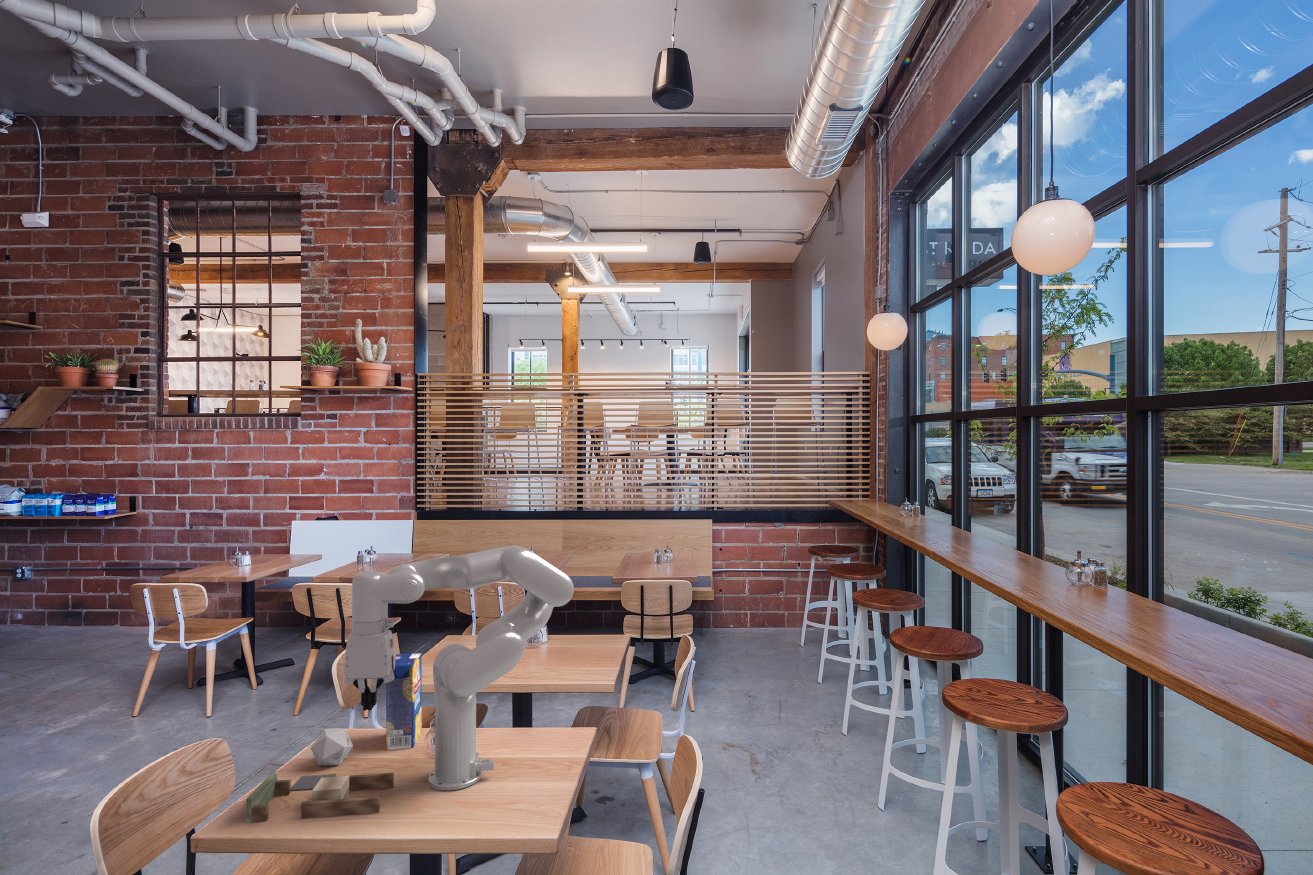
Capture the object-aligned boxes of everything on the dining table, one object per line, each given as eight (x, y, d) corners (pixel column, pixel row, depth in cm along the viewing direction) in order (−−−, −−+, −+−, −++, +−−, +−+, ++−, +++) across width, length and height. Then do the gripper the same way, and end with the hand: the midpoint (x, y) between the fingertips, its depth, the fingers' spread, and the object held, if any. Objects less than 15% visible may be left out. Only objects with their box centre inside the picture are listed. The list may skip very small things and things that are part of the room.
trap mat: (336, 774, 160) (336, 773, 160) (325, 788, 153) (325, 787, 153) (301, 777, 159) (301, 776, 159) (289, 790, 152) (289, 789, 152)
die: (324, 777, 160) (351, 738, 164) (296, 756, 162) (324, 718, 165) (339, 774, 168) (365, 737, 171) (313, 754, 170) (339, 718, 173)
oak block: (349, 795, 150) (349, 775, 151) (340, 809, 145) (340, 788, 145) (321, 797, 150) (321, 777, 150) (311, 811, 144) (311, 790, 144)
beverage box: (421, 731, 185) (421, 652, 186) (413, 748, 174) (413, 664, 175) (396, 732, 184) (396, 654, 185) (386, 750, 173) (386, 666, 174)
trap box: (393, 785, 154) (393, 763, 155) (378, 812, 143) (378, 789, 143) (272, 793, 151) (272, 771, 151) (246, 822, 139) (246, 798, 139)
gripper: (407, 621, 154) (407, 700, 153) (341, 624, 152) (340, 703, 151) (399, 630, 146) (398, 712, 146) (329, 632, 145) (328, 716, 144)
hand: (369, 708), depth 149 cm, fingers closed
